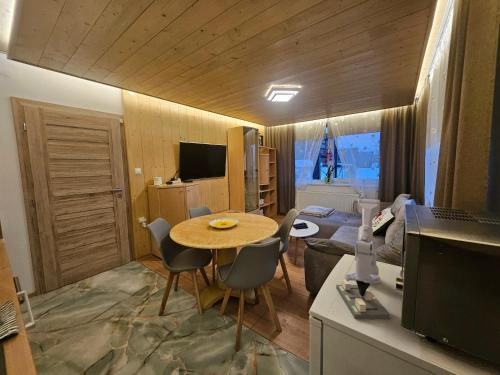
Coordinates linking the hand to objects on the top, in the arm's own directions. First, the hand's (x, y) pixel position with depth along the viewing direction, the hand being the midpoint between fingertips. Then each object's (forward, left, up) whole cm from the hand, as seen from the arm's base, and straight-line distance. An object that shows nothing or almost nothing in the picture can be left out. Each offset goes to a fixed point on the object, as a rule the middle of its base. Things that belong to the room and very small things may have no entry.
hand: (361, 295), depth 93 cm
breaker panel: (0, 0, -3) cm, 3 cm away
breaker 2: (+4, +7, -1) cm, 8 cm away
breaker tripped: (-2, 0, -1) cm, 2 cm away
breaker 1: (+4, -7, -1) cm, 8 cm away
